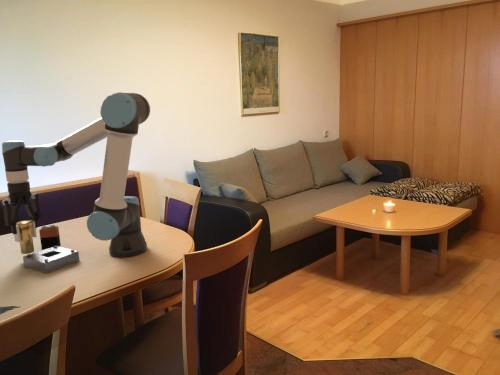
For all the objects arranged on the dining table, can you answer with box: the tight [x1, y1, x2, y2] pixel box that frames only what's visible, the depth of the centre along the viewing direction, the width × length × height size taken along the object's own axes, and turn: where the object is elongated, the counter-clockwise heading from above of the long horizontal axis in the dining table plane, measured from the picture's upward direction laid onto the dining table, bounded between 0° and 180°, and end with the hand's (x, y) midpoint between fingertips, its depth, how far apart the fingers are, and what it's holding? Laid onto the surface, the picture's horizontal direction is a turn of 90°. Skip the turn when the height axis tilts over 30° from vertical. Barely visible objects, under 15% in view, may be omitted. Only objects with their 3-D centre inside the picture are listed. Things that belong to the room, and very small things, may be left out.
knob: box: [16, 220, 35, 255], centre depth 166 cm, size 6×6×12 cm
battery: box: [38, 224, 62, 251], centre depth 181 cm, size 4×7×10 cm, turn 101°
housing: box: [22, 245, 80, 274], centre depth 163 cm, size 14×14×5 cm
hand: (26, 238), depth 167 cm, fingers closed on knob, 6 cm apart
